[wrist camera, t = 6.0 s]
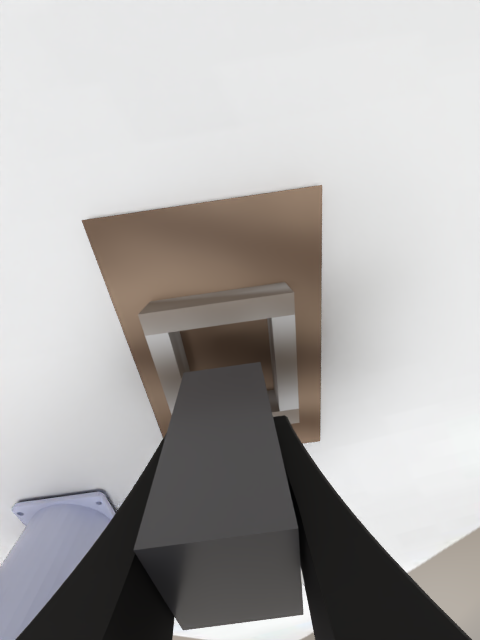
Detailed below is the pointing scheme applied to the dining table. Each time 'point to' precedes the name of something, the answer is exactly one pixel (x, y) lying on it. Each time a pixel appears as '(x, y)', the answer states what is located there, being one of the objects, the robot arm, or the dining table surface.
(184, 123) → the dining table surface
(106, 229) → the socket dock
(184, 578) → the plug
